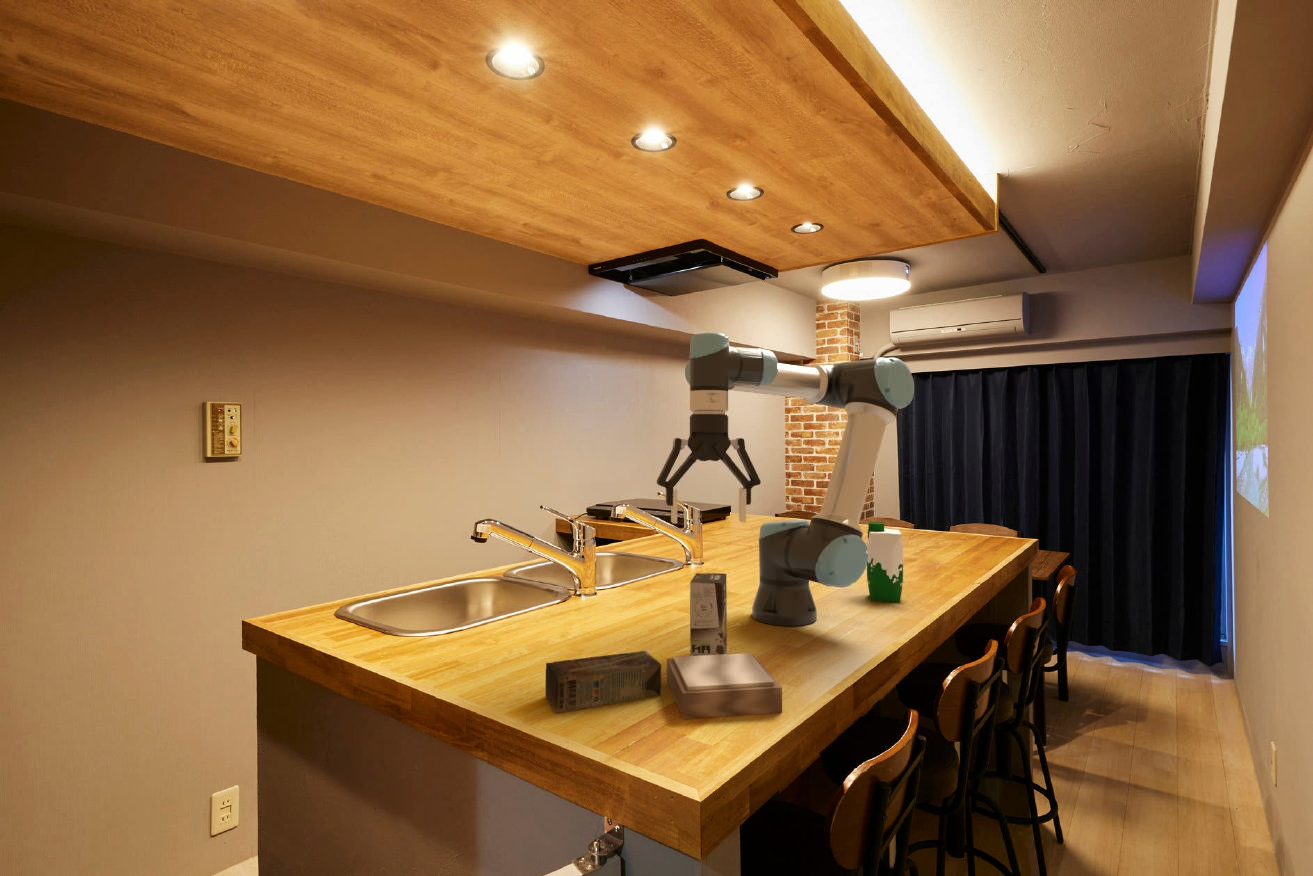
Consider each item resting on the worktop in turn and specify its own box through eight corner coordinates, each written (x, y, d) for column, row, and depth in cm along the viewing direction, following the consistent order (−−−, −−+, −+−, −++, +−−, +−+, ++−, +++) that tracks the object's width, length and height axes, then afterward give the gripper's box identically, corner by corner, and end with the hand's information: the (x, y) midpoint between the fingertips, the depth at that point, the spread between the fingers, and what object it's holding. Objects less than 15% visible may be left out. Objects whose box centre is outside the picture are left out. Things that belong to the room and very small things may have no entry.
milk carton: (865, 593, 184) (865, 520, 184) (900, 595, 182) (900, 521, 182) (868, 601, 176) (868, 525, 175) (904, 603, 173) (905, 526, 173)
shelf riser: (753, 676, 123) (753, 651, 123) (782, 712, 107) (782, 683, 107) (666, 681, 121) (666, 655, 121) (682, 719, 105) (682, 689, 105)
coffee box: (723, 668, 127) (722, 582, 127) (689, 666, 129) (688, 581, 128) (728, 652, 136) (727, 572, 136) (696, 650, 137) (696, 571, 137)
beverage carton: (663, 697, 114) (663, 659, 114) (554, 717, 107) (554, 676, 107) (646, 681, 121) (646, 645, 121) (542, 698, 114) (542, 660, 114)
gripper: (647, 412, 127) (647, 525, 127) (776, 413, 130) (776, 523, 130) (643, 413, 134) (642, 520, 134) (765, 414, 137) (764, 518, 137)
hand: (708, 522), depth 132 cm, fingers open, 13 cm apart
